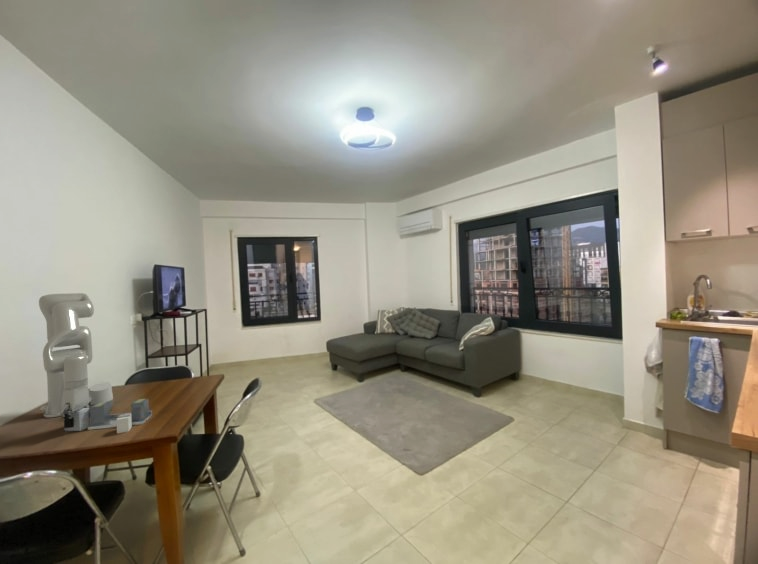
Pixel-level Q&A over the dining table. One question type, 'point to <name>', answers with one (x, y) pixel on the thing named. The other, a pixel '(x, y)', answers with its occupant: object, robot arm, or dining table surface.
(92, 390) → the smart speaker
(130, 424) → the block
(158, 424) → the dining table surface
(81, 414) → the medicine box
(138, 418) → the rail
